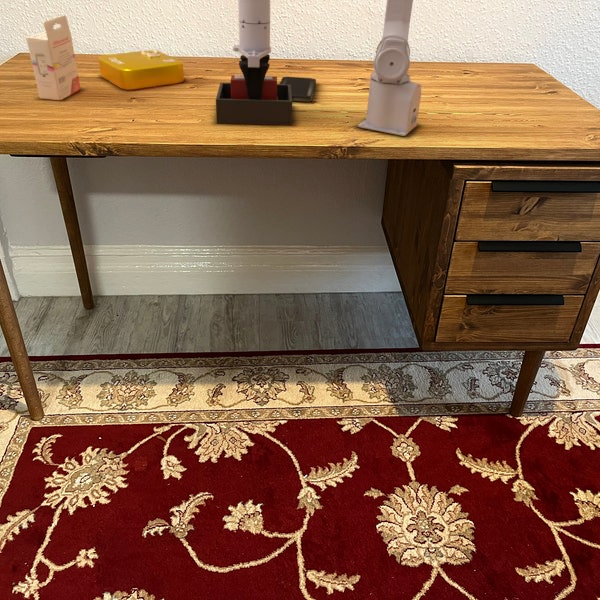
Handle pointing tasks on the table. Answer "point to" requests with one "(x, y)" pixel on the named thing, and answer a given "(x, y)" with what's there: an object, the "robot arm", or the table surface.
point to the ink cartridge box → (54, 60)
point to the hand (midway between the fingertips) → (254, 97)
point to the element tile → (141, 69)
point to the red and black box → (241, 90)
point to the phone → (300, 88)
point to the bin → (254, 108)
